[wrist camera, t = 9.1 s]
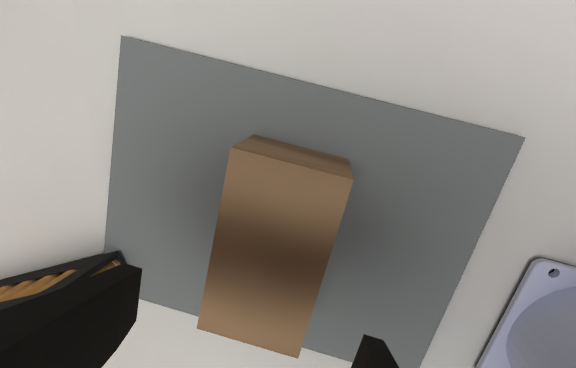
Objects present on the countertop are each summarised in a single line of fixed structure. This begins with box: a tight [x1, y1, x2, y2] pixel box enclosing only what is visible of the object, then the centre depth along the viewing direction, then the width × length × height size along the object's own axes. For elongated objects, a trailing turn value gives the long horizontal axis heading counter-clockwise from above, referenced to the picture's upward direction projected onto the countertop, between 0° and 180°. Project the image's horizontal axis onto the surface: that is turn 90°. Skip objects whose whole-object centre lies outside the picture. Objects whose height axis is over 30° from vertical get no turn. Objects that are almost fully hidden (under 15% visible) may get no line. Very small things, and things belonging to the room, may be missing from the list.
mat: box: [104, 36, 525, 368], centre depth 18 cm, size 20×15×1 cm
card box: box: [197, 134, 354, 358], centre depth 16 cm, size 9×5×4 cm, turn 167°
